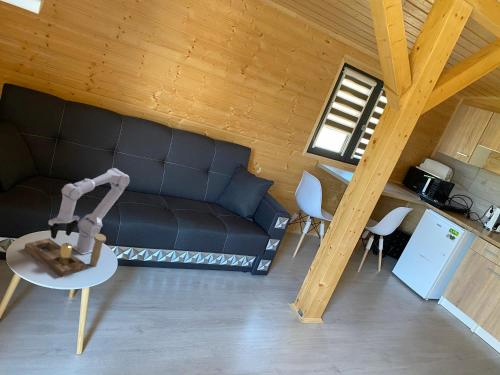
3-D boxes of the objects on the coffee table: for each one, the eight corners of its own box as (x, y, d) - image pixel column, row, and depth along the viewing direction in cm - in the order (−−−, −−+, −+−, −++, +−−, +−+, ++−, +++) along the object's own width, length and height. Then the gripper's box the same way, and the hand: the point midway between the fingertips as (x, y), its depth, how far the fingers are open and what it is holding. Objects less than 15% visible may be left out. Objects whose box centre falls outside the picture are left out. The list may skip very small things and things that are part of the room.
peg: (63, 261, 175) (68, 242, 173) (70, 265, 174) (74, 246, 171) (55, 263, 171) (59, 244, 169) (61, 268, 170) (66, 249, 167)
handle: (90, 268, 177) (97, 240, 174) (85, 261, 182) (92, 233, 178) (100, 267, 181) (107, 240, 177) (95, 260, 185) (102, 233, 181)
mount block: (48, 243, 185) (49, 238, 184) (84, 269, 175) (85, 263, 175) (24, 249, 174) (25, 243, 174) (61, 277, 165) (62, 271, 164)
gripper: (74, 204, 180) (68, 229, 183) (46, 208, 167) (40, 235, 170) (84, 210, 177) (78, 236, 181) (57, 214, 164) (50, 242, 167)
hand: (60, 236), depth 175 cm, fingers open, 7 cm apart
